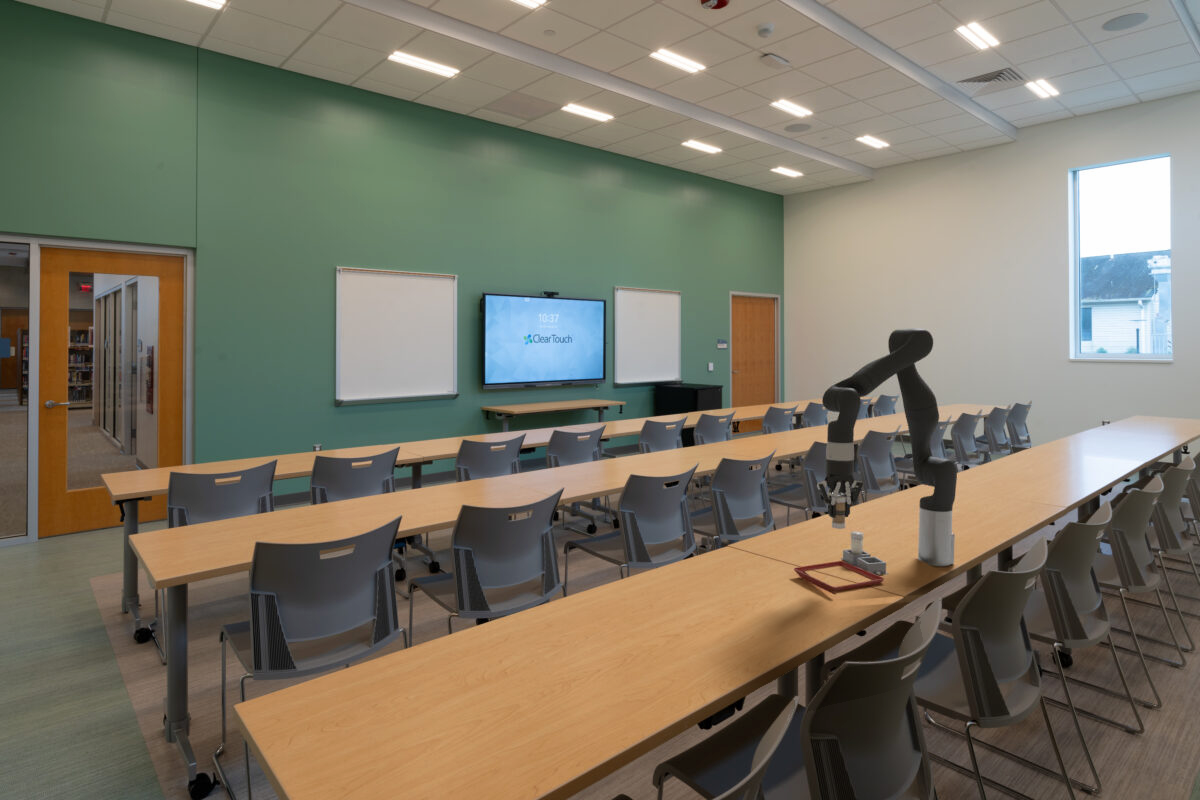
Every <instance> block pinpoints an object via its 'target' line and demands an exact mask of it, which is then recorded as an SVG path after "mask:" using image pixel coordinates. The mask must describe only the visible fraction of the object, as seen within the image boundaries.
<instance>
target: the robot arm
mask: <svg viewBox="0 0 1200 800" xmlns="http://www.w3.org/2000/svg"><path fill="white" fill-rule="evenodd" d="M888 337H889V338H888V346H887V347H888V352H889V354H887V355H884V356H881V357H880V358H877V359H875V360H873V361H870V362H868V363H867V364H865V365H864V366H862V367H860V369H858V370H857V371H856V372H854V373H853V374H852V375H850V376H849V377H847V378H845V379H843V380H841V381H838V382H837V383H835V384H833V385H831V386H829V388H828V389H826V390H825V392H824V393H823V395H822V406H823V407H824V408H825V409H826V410H827V411H830V412H834V413H838V417H837V419H836V420H832V421H830V422H828V425H827V442H826V449H825V451H826V452H825V478H824V480H823V481H820V482H819V481H817V482H815V487H816V489H817V493H818V495H819V498H820V500H821V502H823V503H826V504H827V515H828V516H829V517H830V518H835V507H836V505H834V504H835V501H836V498H837V496H838V495H839V494H840V495H843V496H845V497H846V502H845V518H849V516H850V514H851V504H852V503H856V502H857V501H858V499H859V497H860V494H861V491H862V488H863V486H864V483H863V482H862V481H859V480H855V478H854V474H855V473H854V472H855V447H854V445H855V444H854V433H855V430H854V429H855V425H856V423H857V418H858V417H859V412H860V409H861V403H862V401H861V398H863V397H866V396H869V394H871V393H872V392H874V390H876V389H877V388H878V387H879V386H880V385H882V384H883V383H885V382H886V381H887V380H888V379H890V378H892V377H893V376H895V375H896V377H897V381H898V385H899V390H900V393H901V398H902V406H903V410H904V411H903V412H904V415H905V419H906V423H907V427H908V428H907V429H908V432H909V433H908V434H909V439H910V445H911V456H912V466H913V472H914V476H915V479H916V481H917V482H918V483H919V484H922V485H924V486H928V487H934V489H933V493H932V494H931V495H927V496H923V497H921V498H920V499H919V507H918V508H919V510H918V511H919V512H918V518H919V520H918V546H917V549H918V551H917V552H918V554H917V555H918V556H917V559H918V561H920V562H923V563H925V564H927V565H929V566H933V567H947V566H950V565H953V564H955V542H956V541H955V537H956V535H955V533H953V507H954V503H955V499H956V488H957V479H958V471H957V470H958V469H957V466H956V464H955V462H954V461H953V460H951V459H948V458H943V457H935V456H933V454H932V449H931V439H932V436H933V434H934V432H935V430H936V428H937V426H938V424H939V421H940V414H939V408H938V402H937V398H936V395H935V394H934V392H933V391H932V388H930V386H929V384H928V383H926V382H925V380H924V379H923V378H922V377H921V375H920V373H919V372H918V369H917V367H916V363H917V362H919V361H921V360H923V359H925V358H926V357H927V356H929V354H931V351H932V350H933V347H934V338H933V335H932V334H931V332H930V331H929V330H927V329H924V328H898V329H895V330H893V331H892V332H891V333H890V335H889V336H888ZM827 488H828V491H827V490H826V489H827Z"/></svg>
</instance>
